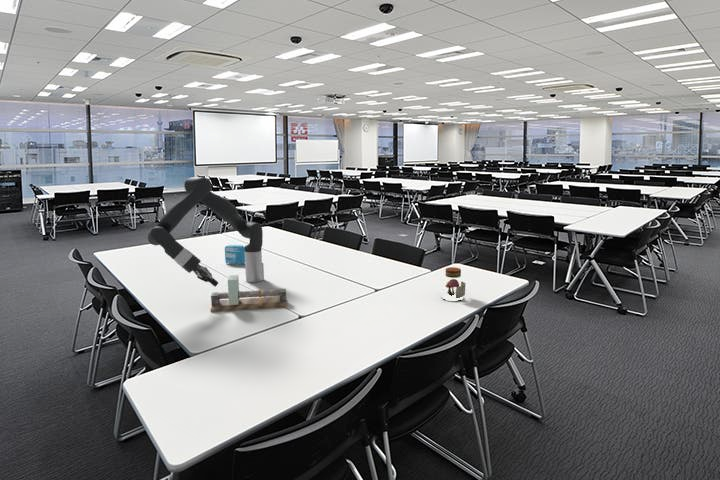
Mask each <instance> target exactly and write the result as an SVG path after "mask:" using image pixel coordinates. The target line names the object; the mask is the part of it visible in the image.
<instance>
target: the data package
mask: <svg viewBox="0 0 720 480" xmlns="http://www.w3.org/2000/svg"><path fill="white" fill-rule="evenodd" d="M244 247H245V245H241V244H239V245H238V244H228V245H226V246H225V247H224V261H225V264H227V263H229V264H228V265H234V264H241V265H244V264H245V251H244Z"/></svg>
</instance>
